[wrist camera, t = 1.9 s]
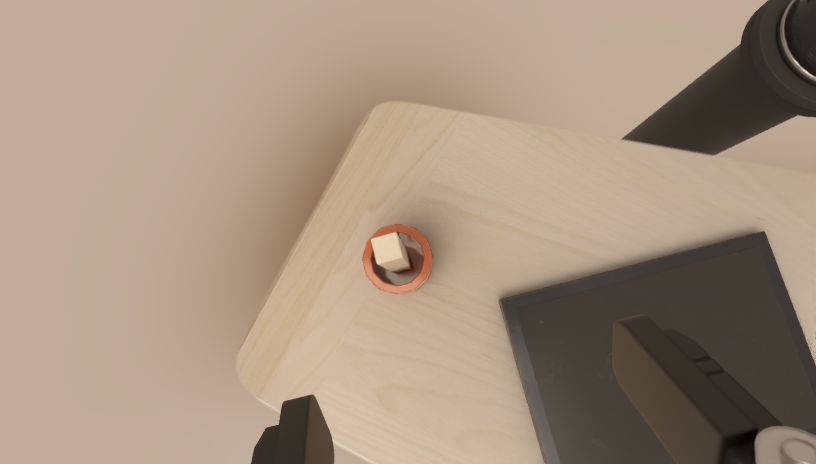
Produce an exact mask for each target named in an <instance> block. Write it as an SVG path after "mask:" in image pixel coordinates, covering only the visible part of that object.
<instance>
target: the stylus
mask: <svg viewBox="0 0 816 464" xmlns="http://www.w3.org/2000/svg"><path fill="white" fill-rule="evenodd" d="M371 243H372V247H373V251H374V255H375V259H376V263H377V264H378V265H380V266H382V267H384V268H386V269H388V270H389V271H391V272H393V273H398V272H401V271H405V270H409V269H412V267H411V263H410V259H409V255H408V252H407V250H406V248H405V246H404V245H403V243H402V241H401V239H400V238H399V236H398V234H397V233H396V232H394V233H390V234H386V235H382V236H378V237H375V238H372V239H371Z"/></svg>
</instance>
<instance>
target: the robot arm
mask: <svg viewBox="0 0 816 464" xmlns="http://www.w3.org/2000/svg"><path fill="white" fill-rule="evenodd" d="M776 43H777V47H778V50H779V53H780V55H781V57H782V59H783V61H784V62H785V64H786V65H787V66H788V68H789V69H790V70H791V71H792V72H793V73H794V74H795V75H796V76H798V77H799V78H800V79H802V80H803V81H805V82H807V83H809V84H810V85H813V86H815V87H816V0H791V1H790V2H789V3H788V4H787V5H786V6H785V8H784V9H783V11H782V12H781V14H780V16H779V19H778V22H777V26H776ZM612 367H613V371H614V374H615V377H616V379H617V381H618V383H619V385H620V387H621V388H622V390H623V391H624V392H625V394H626V395H627V396H628V398H629V399H630V400H631V402H632V403H633V405H634V406H635V407H636V409H637V410H638V411H639V413H640V414H641V416H642V417H643V418H644V420H645V421H646V422H647V424H648V425H649V427H650V428H651V429H652V431H653V432H654V433H655V435H656V436H657V437H658V439H659V440H660V442H661V443H662V444H663V446H664V447H665V448H666V450H667V451H668V453H669V454H670V455H671V457H672V458H673V459H674V461H675V462H676V463H677V464H816V435H814V434H812V433H809V432H807V431H804V430H801V429H798V428H794V427H788V426H784V425H783V424H782V423H781V422H780V421H779V420H777V419H776V418H775V417H774V416H773V415H772V414H771V413H770V412H769V411H768V410H767V409H766V408H765V407H764V406H763V405H762V404H761V403H760V402H759V401H757V400H756V399H755V398H754V397H753V396H752V395H751V394H750V393H749V392H748V391H747V390H746V389H745V388H744V387H743V386H742V385H741V384H740V383H738V382H737V381H736V380H735V379H734V378H733V377H732V376H731V375H730V374H729V373H728V372H725V371H724V368H723V367H722V366H721V365H719V364H718V363H717V362H716V361H715V360H714V359H711V358H710V355H709V354H708V353H707V352H706V351H705V350H704V349H703V348H702V347H700V346H699V345H698V344H697V343H696V342H695V341H694V340H693V339H691V338H689V337H687V336H685V335H683V334H681V333H679V332H677V331H675V330H673V329H668V330H664V331H663V330H662V329H661V328H660V327H659V326H658V325H657V324H656V323H655V322H654V321H653V320H652V319H651V318H650V317H649V316H647V315H645V314H641V315H637V316H633V317H629V318H625V319H621V320H616V321H614V323H613V334H612ZM251 464H334V447H333V441H332V437H331V433H330V431H329V428H328V426H327V424H326V421H325V419H324V416H323V414H322V412H321V409H320V407H319V405H318V402H317V400H316V398H315V396H314V395H313V394H312V395H308V396H304V397H300V398H296V399H292V400H287V401H284V402H283V404H282V409H281V415H280V421H279V425H276V426H271V427H268V428H266V429H265V431H264V432H263V434H262V436H261V438H260V440H259V441H258V443H257V444H256V446H255V448H254V452H253V457H252V462H251Z"/></svg>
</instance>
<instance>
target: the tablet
mask: <svg viewBox="0 0 816 464" xmlns="http://www.w3.org/2000/svg"><path fill="white" fill-rule="evenodd" d="M499 304H500V308H501V311H502V315H503V318H504V322H505V325H506V329H507V332H508V336H509V339H510V343H511V346H512V350H513V353H514V357H515V360H516V364H517V368H518V371H519V375H520V378H521V382H522V385H523V389H524V392H525V396H526V399H527V403H528V406H529V410H530V413H531V417H532V420H533V424H534V427H535V431H536V434H537V438H538V441H539V445H540V448H541V452H542V455H543V459H544V462H545V464H677V463H676V462H675V461H674V459H673V458H672V457H671V455H670V454H669V453H668V451H667V450H666V448H665V447H664V446H663V444H662V443H661V442H660V440H659V439H658V437H657V436H656V435H655V433H654V432H653V431H652V429H651V428H650V427H649V425H648V424H647V422H646V421H645V420H644V418H643V417H642V416H641V414H640V413H639V411H638V410H637V409H636V407H635V406H634V405H633V403H632V402H631V400H630V399H629V398H628V396H627V395H626V394H625V392H624V391H623V390H622V388H621V387H620V385H619V383H618V381H617V379H616V377H615V374H614V371H613V367H612V334H613V323H614V321H616V320H621V319H625V318H629V317H633V316H637V315H641V314H645V315H647V316H649V317H650V318H651V319H652V320H653V321H654V322H655V323H656V324H657V325H658V326H659V327H660V328H661V329H662V330H663V331H664V330H668V329H673V330H675V331H677V332H679V333H681V334H683V335H685V336H687V337H689V338H691V339H693V340H694V341H695V342H696V343H697V344H698V345H699V346H700V347H702V348H703V349H704V350H705V351H706V352H707V353H708V354H709V355H710V358H711V359H714V360H715V361H716V362H717V363H718V364H719V365H721V366H722V367H723V368H724V371H725V372H728V373H729V374H730V375H731V376H732V377H733V378H734V379H735V380H736V381H737V382H738V383H740V384H741V385H742V386H743V387H744V388H745V389H746V390H747V391H748V392H749V393H750V394H751V395H752V396H753V397H754V398H755V399H756V400H757V401H759V402H760V403H761V404H762V405H763V406H764V407H765V408H766V409H767V410H768V411H769V412H770V413H771V414H772V415H773V416H774V417H775V418H776V419H777V420H779V421H780V422H781V423H782V424H783V425H784V426H788V427H794V428H798V429H801V430H804V431H807V432H809V433H812V434H814V435H816V365H815V363H814V360H813V357H812V355H811V352H810V350H809V347H808V344H807V342H806V339H805V336H804V334H803V331H802V328H801V326H800V323H799V321H798V318H797V315H796V313H795V310H794V307H793V305H792V302H791V299H790V297H789V294H788V292H787V289H786V286H785V284H784V281H783V278H782V276H781V273H780V270H779V268H778V265H777V263H776V260H775V257H774V255H773V252H772V249H771V247H770V244H769V241H768V239H767V236H766V234H765V232H758V233H754V234H750V235H746V236H742V237H738V238H734V239H731V240H727V241H723V242H719V243H715V244H711V245H708V246H704V247H700V248H696V249H692V250H688V251H685V252H681V253H677V254H673V255H669V256H665V257H662V258H658V259H654V260H650V261H646V262H642V263H639V264H635V265H631V266H627V267H623V268H619V269H616V270H612V271H608V272H604V273H600V274H596V275H593V276H589V277H585V278H581V279H577V280H573V281H570V282H566V283H562V284H558V285H554V286H550V287H547V288H543V289H539V290H535V291H531V292H527V293H524V294H520V295H516V296H512V297H508V298H504V299H501V300H499Z"/></svg>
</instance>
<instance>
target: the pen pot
mask: <svg viewBox="0 0 816 464" xmlns="http://www.w3.org/2000/svg"><path fill="white" fill-rule="evenodd" d="M394 232H396V233H397V234H398V236H399V238H400V239H401V241H402V243H403V245H404V246H405V248H406V250H407V252H408V255H409V259H410V263H411V267H412V269H409V270H405V271H401V272H398V273H393V272H391V271H389V270H388V269H386V268H384V267H382V266H380V265H378V264H377V263H376V259H375V255H374V251H373V247H372V243H371V239H372V238H375V237H378V236H382V235H386V234H390V233H394ZM362 258H363V259H362V260H363V264H364V268H365V272H366V276H367V277H368V278H369V279H370V280H371V281H372V282H373V284H374V285H375V286H376V287H377V288H378V289H380V290H383V291H386V292H390V293H394V294H404V293H407V292H411V291H415V290H417V289H418V288H419V287H420V286H421V285H423V284H424V282H425V281H426V280H427V279H428V278H429V274H430V271H431V267H432V261H433V260H432V259H433V258H432V254H431V250H430V246H429V243H428V241H427V240H426V239H425V238H424V237H423V236H422V235H421V234H420V233H419V232H418V231H417V230H416V229H415V228H412V227H408V226H404V225H401V224H395V225H391V226H387V227H383V228H381V229H379V230H378V231H377V232H376V233H375V234H374V235H373V236H372V237H371V238H370V239H369V240H368V241H367V244H366V247H365V251H364V254H363V257H362Z"/></svg>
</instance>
